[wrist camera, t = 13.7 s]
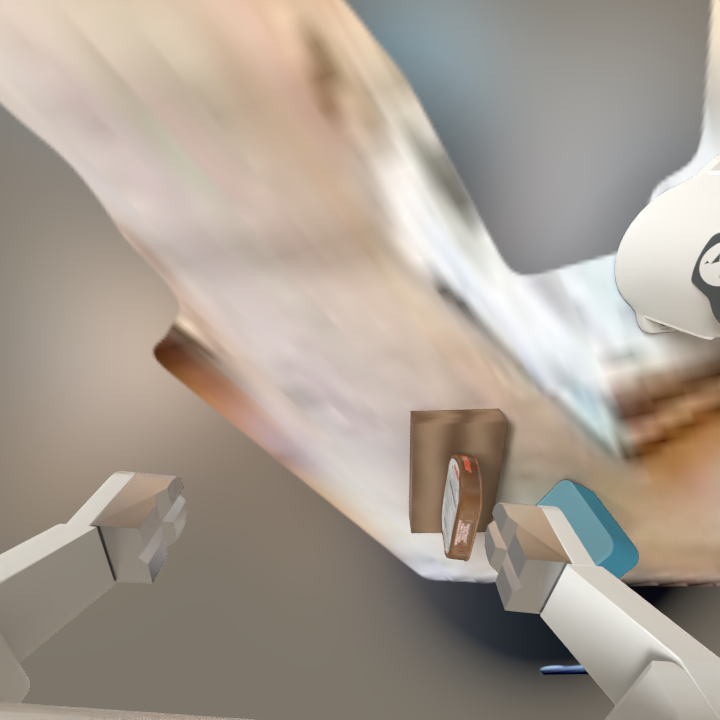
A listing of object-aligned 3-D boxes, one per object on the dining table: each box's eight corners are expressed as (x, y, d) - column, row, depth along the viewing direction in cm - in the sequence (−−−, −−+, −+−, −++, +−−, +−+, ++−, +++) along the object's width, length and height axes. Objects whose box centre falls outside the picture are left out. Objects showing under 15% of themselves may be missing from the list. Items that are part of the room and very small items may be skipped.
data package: (538, 533, 58) (577, 611, 47) (515, 524, 57) (550, 601, 46) (589, 485, 53) (645, 559, 42) (565, 474, 52) (617, 547, 41)
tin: (455, 521, 52) (470, 576, 45) (434, 520, 52) (445, 576, 45) (471, 440, 46) (492, 488, 38) (447, 439, 46) (463, 487, 38)
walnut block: (497, 405, 48) (507, 422, 45) (482, 510, 57) (490, 531, 53) (410, 408, 49) (413, 425, 45) (408, 511, 57) (411, 533, 54)
